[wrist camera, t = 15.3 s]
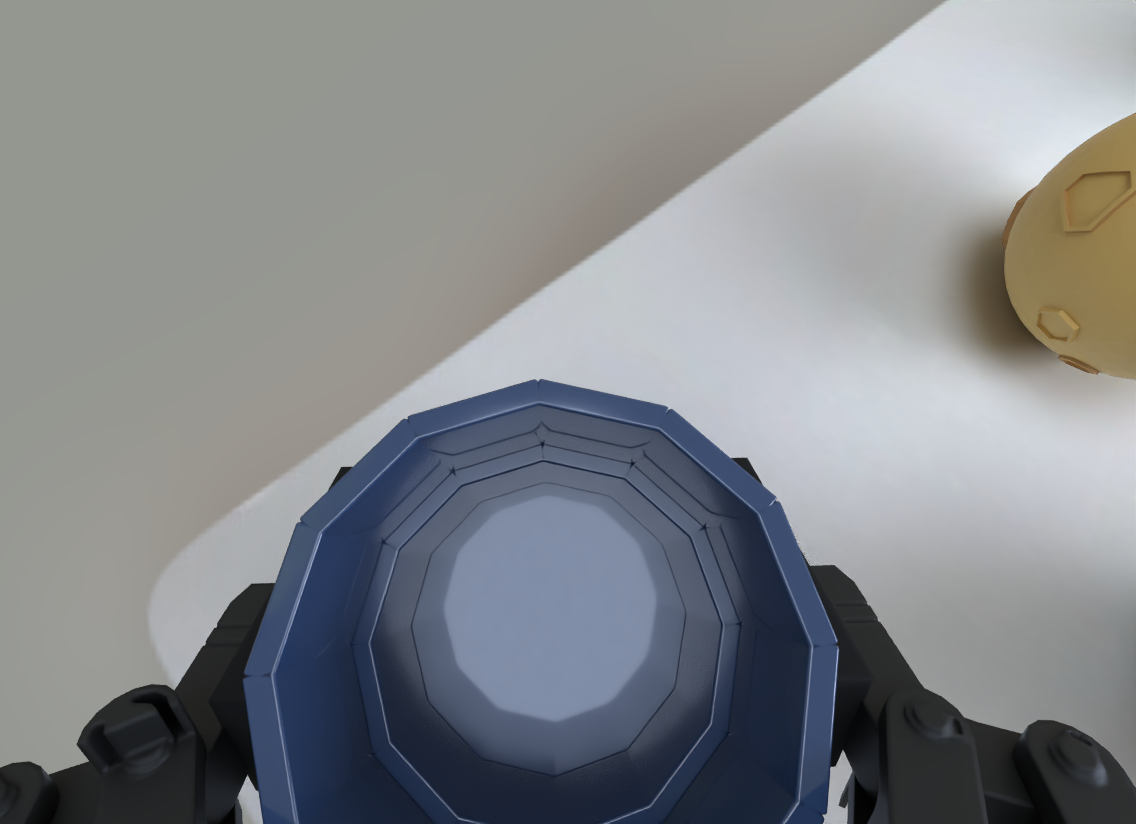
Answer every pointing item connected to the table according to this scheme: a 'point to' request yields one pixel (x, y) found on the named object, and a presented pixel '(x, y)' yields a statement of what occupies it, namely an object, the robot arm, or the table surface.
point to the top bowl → (543, 630)
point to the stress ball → (1080, 255)
